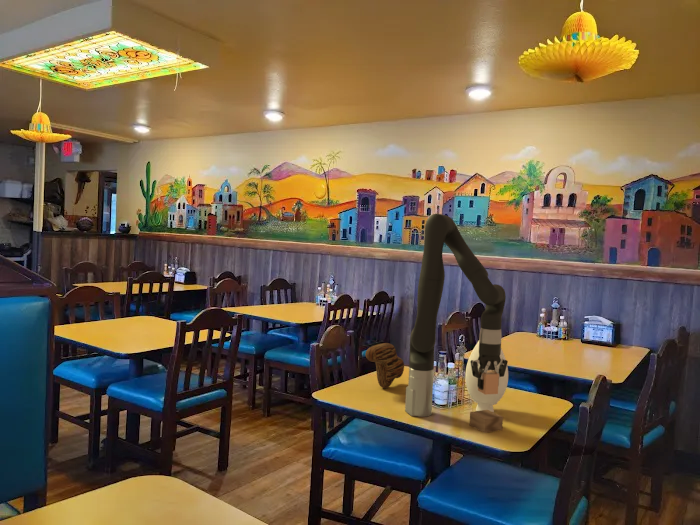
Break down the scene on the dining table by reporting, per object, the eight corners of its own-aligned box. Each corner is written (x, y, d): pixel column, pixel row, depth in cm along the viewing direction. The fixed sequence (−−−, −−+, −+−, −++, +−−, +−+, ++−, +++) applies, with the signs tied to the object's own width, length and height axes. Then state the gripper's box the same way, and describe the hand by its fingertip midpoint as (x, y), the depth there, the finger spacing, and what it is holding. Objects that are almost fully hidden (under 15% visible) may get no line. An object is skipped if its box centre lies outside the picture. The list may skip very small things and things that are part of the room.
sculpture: (391, 381, 252) (393, 337, 251) (406, 384, 247) (408, 340, 246) (359, 393, 230) (361, 346, 229) (375, 397, 226) (377, 349, 225)
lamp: (456, 410, 213) (461, 320, 211) (475, 401, 225) (480, 317, 223) (494, 420, 203) (499, 326, 201) (512, 411, 215) (517, 322, 213)
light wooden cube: (477, 390, 196) (478, 371, 195) (490, 389, 197) (491, 370, 197) (485, 394, 191) (486, 374, 191) (497, 393, 192) (498, 374, 192)
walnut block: (484, 433, 189) (485, 419, 189) (469, 425, 196) (470, 412, 196) (502, 430, 193) (502, 416, 193) (486, 423, 200) (487, 409, 200)
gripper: (501, 338, 199) (499, 385, 200) (466, 339, 195) (464, 386, 195) (514, 342, 192) (511, 390, 193) (477, 343, 187) (475, 393, 188)
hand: (487, 388), depth 194 cm, fingers closed on light wooden cube, 5 cm apart
